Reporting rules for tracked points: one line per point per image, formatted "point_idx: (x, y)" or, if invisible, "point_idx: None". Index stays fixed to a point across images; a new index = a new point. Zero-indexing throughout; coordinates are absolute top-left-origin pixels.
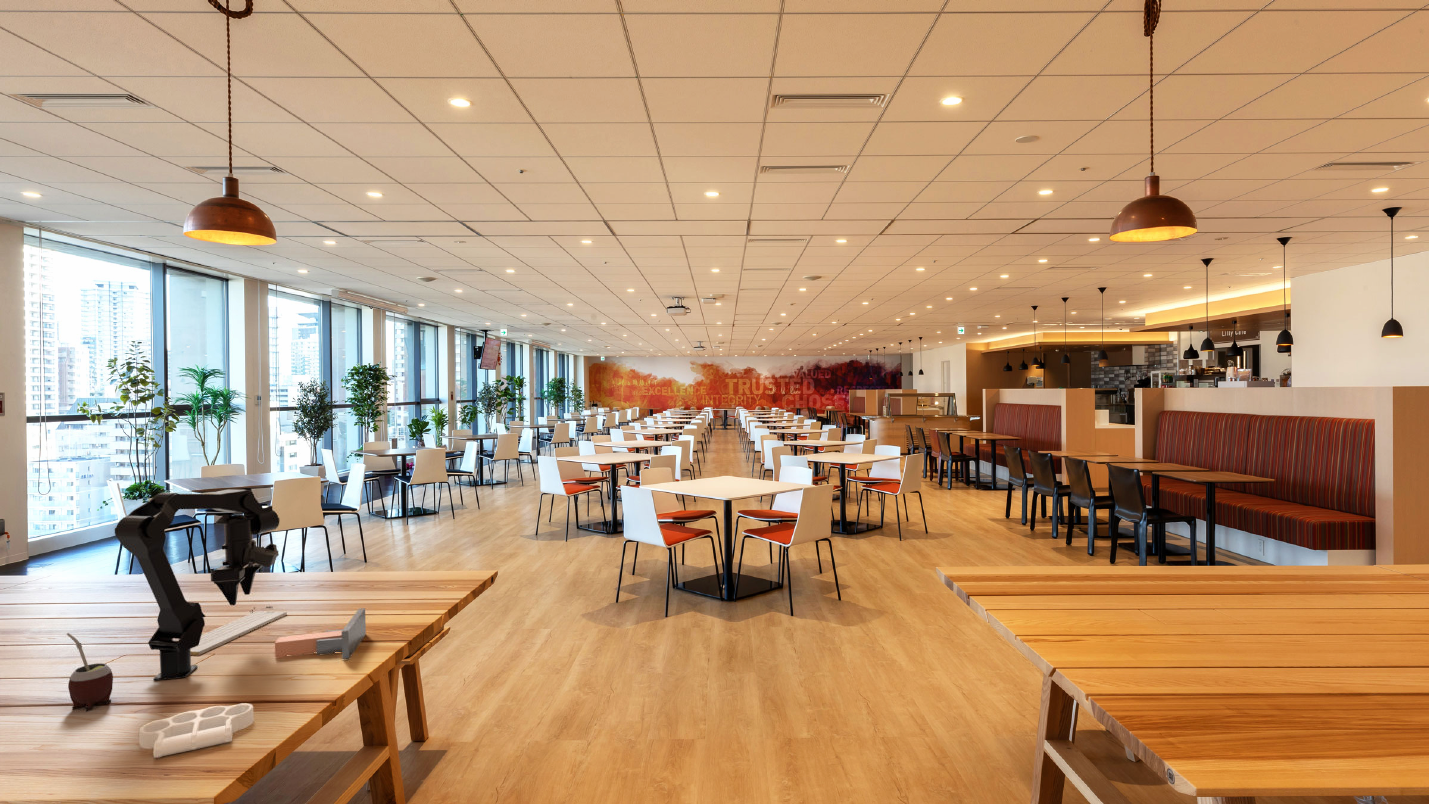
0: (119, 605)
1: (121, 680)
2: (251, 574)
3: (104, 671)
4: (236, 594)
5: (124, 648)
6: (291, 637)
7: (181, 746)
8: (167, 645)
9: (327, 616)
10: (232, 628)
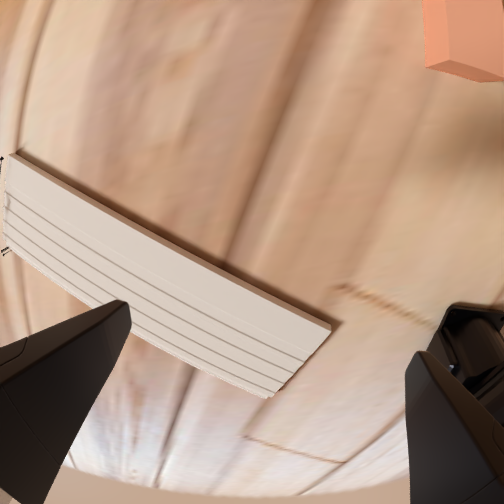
0: None
1: None
2: (7, 399)
3: None
4: (475, 407)
5: (201, 437)
6: (466, 15)
7: None
8: None
9: (54, 15)
10: (112, 276)
